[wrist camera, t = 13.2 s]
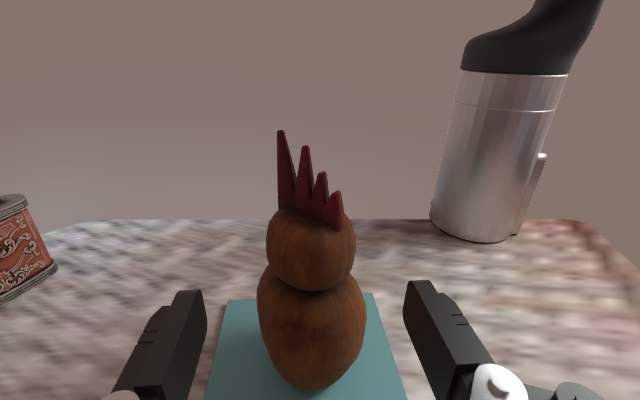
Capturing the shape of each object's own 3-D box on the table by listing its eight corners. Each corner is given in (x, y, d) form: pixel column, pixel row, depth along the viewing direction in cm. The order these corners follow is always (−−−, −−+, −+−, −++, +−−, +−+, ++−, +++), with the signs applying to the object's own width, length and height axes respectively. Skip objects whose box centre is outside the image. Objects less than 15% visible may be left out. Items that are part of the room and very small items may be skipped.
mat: (371, 296, 26) (372, 293, 26) (421, 449, 16) (422, 445, 16) (228, 304, 25) (227, 300, 25) (188, 471, 15) (186, 467, 15)
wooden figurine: (249, 340, 21) (223, 127, 14) (319, 308, 24) (324, 117, 17) (294, 433, 16) (286, 174, 9) (376, 379, 19) (414, 148, 12)
